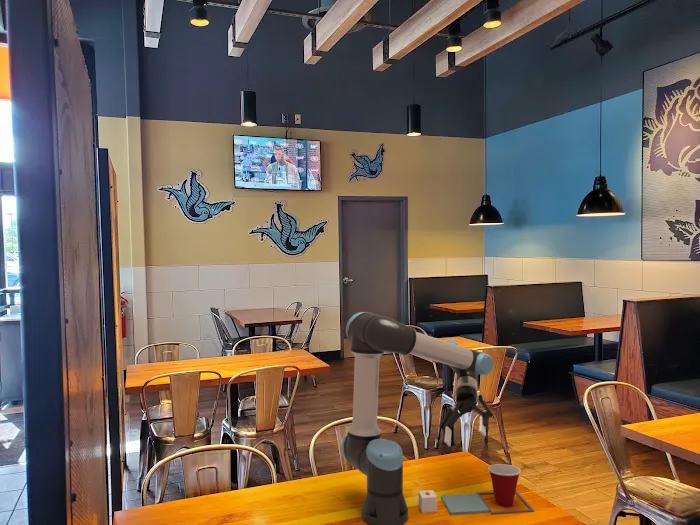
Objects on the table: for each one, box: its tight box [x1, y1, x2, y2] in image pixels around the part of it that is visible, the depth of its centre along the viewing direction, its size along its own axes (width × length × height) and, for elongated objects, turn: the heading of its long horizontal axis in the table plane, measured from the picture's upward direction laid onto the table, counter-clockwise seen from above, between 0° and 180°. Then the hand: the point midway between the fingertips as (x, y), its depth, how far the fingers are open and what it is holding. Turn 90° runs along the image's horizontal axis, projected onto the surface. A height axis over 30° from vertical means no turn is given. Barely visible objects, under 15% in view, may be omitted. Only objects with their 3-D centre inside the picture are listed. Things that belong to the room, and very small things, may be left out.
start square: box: [476, 490, 535, 515], centre depth 186 cm, size 15×15×1 cm
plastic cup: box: [487, 463, 522, 508], centre depth 186 cm, size 11×11×12 cm
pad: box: [440, 492, 490, 516], centre depth 185 cm, size 13×12×1 cm
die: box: [417, 489, 438, 514], centre depth 182 cm, size 5×5×5 cm
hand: (464, 439), depth 185 cm, fingers open, 13 cm apart
